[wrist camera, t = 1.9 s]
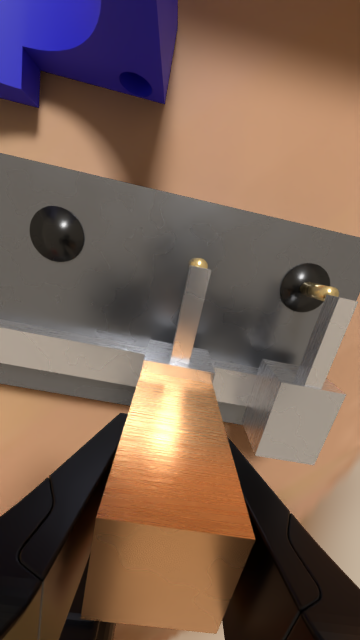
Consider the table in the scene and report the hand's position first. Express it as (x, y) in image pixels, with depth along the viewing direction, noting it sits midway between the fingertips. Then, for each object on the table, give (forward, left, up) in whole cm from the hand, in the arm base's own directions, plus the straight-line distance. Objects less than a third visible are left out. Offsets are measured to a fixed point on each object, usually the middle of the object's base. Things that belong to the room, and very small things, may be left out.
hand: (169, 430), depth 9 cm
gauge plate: (+3, +2, -6) cm, 7 cm away
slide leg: (+2, 0, -5) cm, 5 cm away
